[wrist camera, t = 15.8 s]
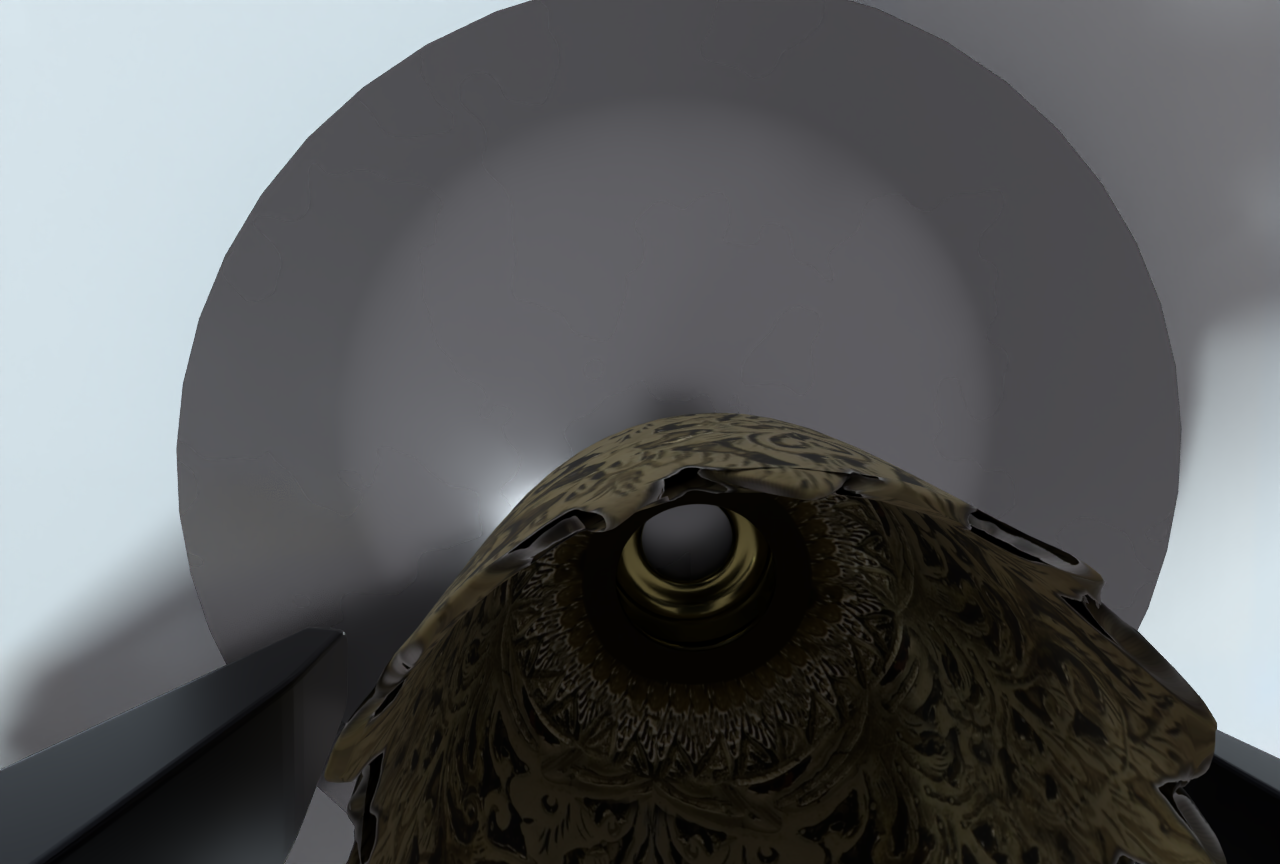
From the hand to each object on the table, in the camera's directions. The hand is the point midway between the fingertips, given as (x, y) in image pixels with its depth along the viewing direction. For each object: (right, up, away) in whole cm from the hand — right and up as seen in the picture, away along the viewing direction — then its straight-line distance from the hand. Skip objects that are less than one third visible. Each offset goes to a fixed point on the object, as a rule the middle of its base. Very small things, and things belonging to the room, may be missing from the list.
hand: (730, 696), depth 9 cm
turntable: (0, +2, +6) cm, 6 cm away
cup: (0, +1, +5) cm, 5 cm away
